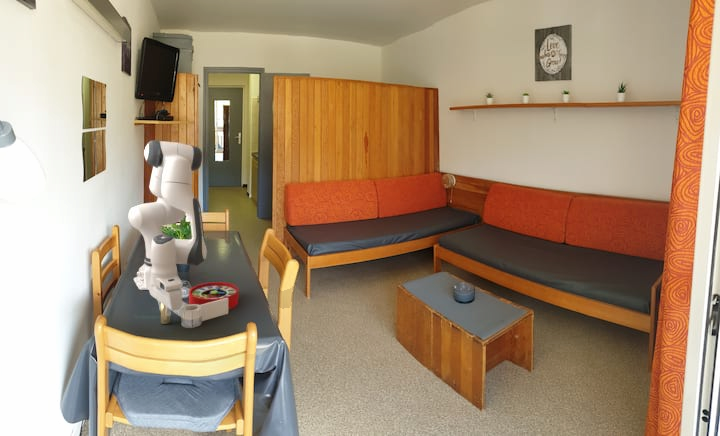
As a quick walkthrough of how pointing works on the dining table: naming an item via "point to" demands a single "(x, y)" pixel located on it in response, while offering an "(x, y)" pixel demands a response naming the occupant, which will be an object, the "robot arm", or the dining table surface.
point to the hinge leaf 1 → (188, 322)
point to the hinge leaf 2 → (205, 310)
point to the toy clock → (214, 293)
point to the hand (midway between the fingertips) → (165, 313)
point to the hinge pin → (164, 318)
